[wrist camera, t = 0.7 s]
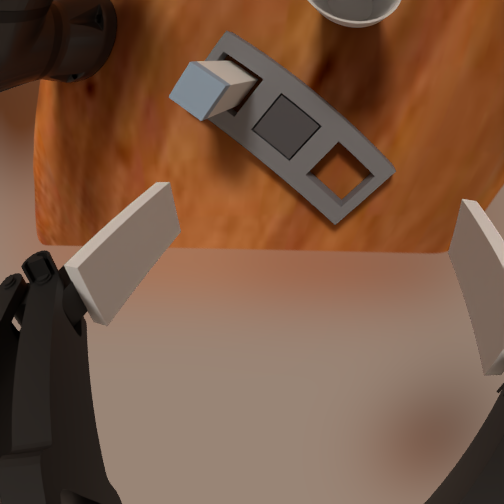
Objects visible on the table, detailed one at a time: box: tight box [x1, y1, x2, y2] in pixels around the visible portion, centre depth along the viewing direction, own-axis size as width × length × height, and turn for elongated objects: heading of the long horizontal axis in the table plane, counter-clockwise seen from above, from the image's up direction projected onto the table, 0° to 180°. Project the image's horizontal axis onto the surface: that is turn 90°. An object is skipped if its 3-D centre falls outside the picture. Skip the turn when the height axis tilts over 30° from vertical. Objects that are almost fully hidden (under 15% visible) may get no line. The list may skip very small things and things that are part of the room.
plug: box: [169, 61, 258, 121], centre depth 28 cm, size 4×4×10 cm
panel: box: [205, 31, 396, 225], centre depth 32 cm, size 24×10×2 cm, turn 53°
